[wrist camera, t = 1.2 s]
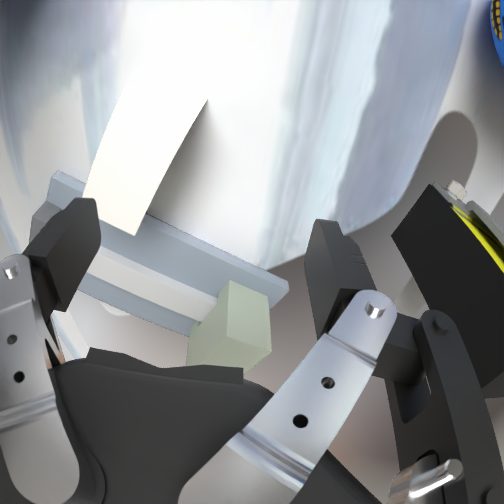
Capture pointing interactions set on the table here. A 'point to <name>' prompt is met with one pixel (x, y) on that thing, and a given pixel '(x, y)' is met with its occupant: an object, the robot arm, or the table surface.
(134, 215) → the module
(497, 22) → the ceramic pot
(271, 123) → the table surface
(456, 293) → the electrical component
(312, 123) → the table surface
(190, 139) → the table surface
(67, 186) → the mounting plate
